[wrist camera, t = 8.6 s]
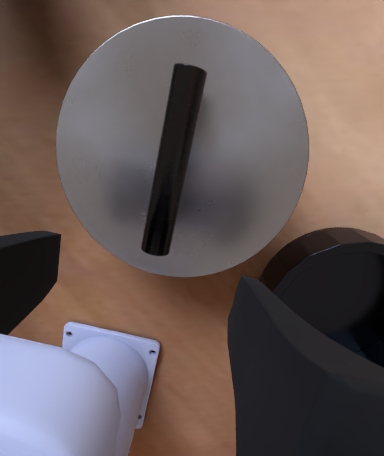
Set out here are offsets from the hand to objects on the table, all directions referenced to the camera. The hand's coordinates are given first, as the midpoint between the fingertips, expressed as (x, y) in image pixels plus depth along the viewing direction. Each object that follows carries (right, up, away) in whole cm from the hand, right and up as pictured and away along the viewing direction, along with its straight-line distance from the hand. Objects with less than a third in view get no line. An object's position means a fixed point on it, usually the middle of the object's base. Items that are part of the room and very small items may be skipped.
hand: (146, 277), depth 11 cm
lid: (+1, +5, +3) cm, 6 cm away
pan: (+12, -3, +11) cm, 17 cm away
